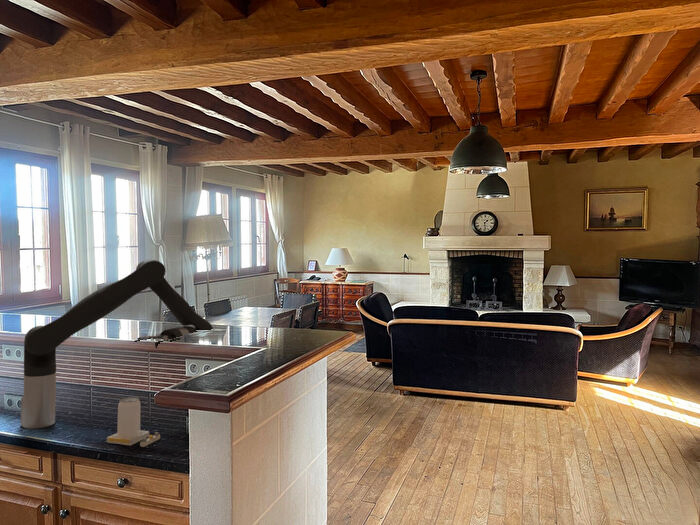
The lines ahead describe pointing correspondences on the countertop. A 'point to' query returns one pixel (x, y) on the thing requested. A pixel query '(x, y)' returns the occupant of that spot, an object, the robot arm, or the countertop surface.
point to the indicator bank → (150, 439)
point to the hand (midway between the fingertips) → (145, 344)
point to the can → (128, 418)
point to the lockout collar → (125, 441)
